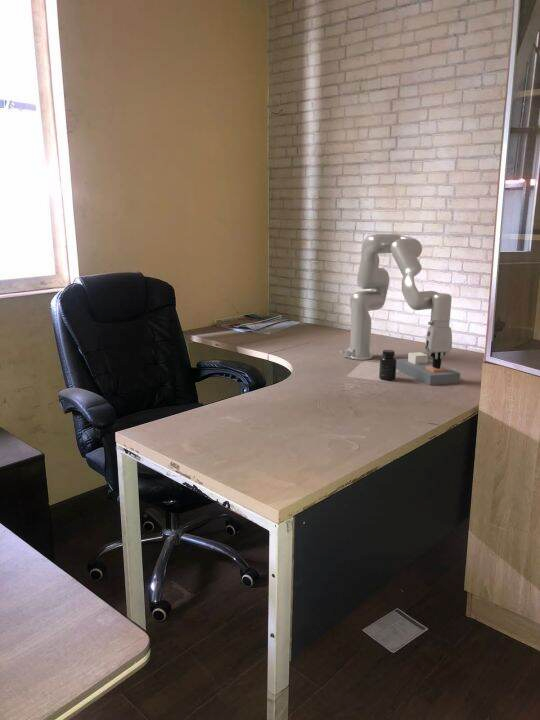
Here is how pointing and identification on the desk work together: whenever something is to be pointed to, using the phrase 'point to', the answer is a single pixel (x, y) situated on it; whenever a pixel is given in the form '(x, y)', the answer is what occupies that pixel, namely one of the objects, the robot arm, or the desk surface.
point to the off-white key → (417, 358)
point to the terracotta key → (434, 370)
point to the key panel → (427, 373)
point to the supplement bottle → (388, 366)
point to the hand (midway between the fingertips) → (436, 367)
